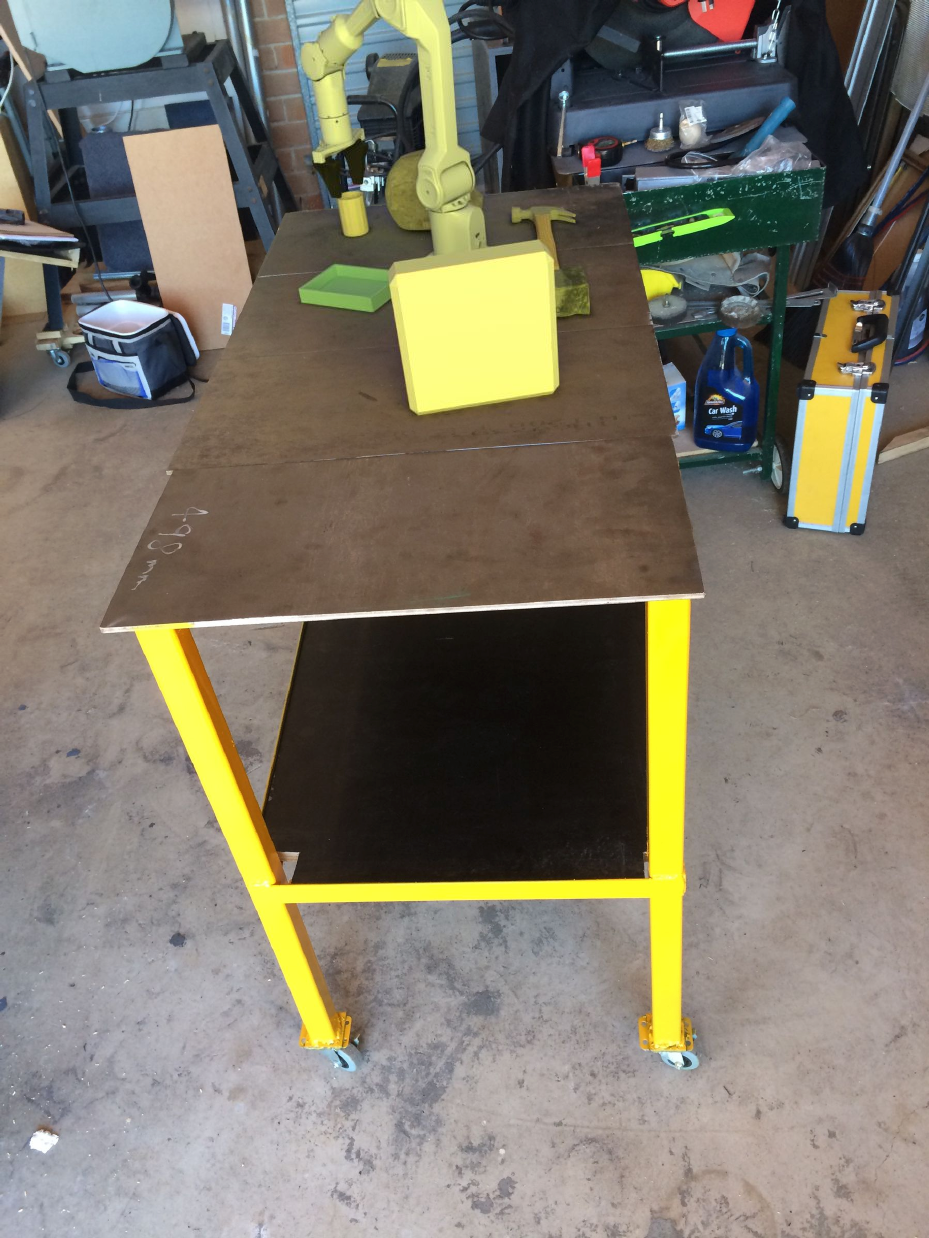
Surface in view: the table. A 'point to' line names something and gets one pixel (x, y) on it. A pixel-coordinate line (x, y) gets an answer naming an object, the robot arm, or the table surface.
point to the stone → (411, 194)
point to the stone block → (571, 292)
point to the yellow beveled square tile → (476, 326)
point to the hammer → (543, 223)
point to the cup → (353, 213)
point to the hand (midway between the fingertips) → (347, 190)
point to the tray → (348, 288)
